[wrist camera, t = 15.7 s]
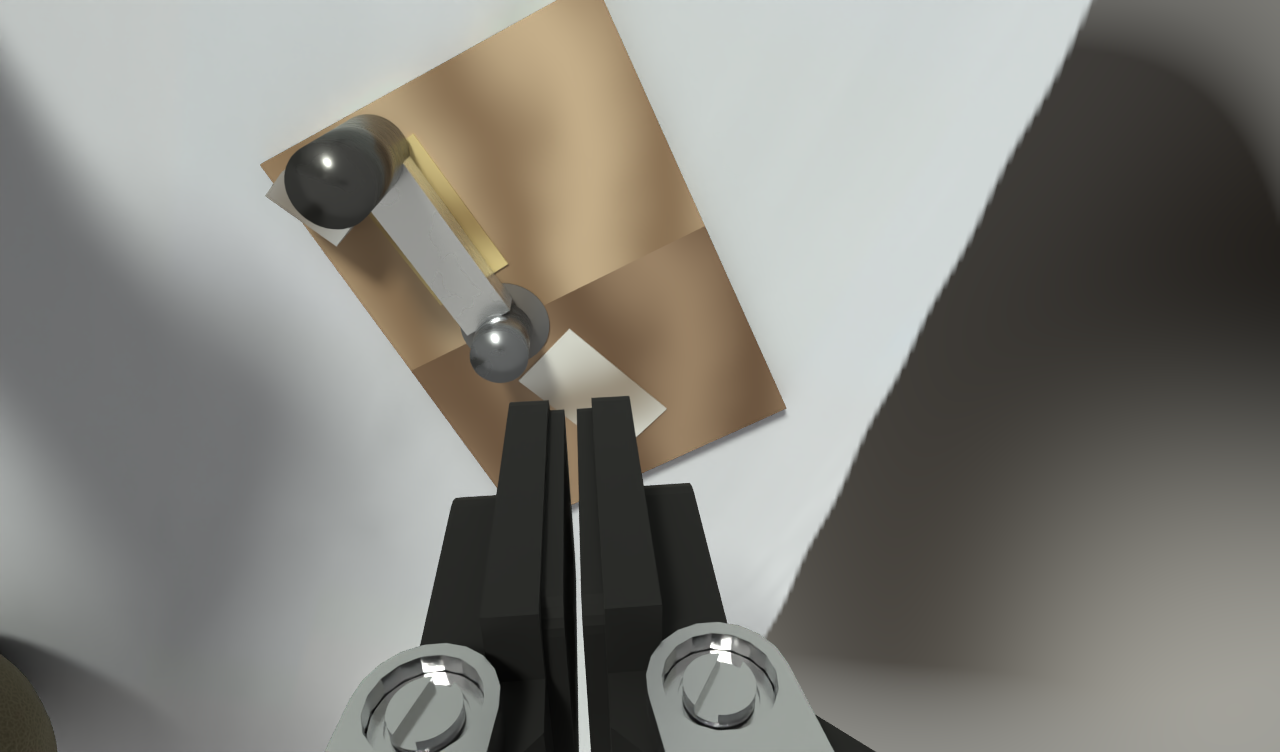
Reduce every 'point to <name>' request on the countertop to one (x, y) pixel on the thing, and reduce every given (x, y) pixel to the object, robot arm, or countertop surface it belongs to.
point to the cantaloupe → (22, 714)
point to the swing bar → (410, 231)
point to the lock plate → (559, 244)
